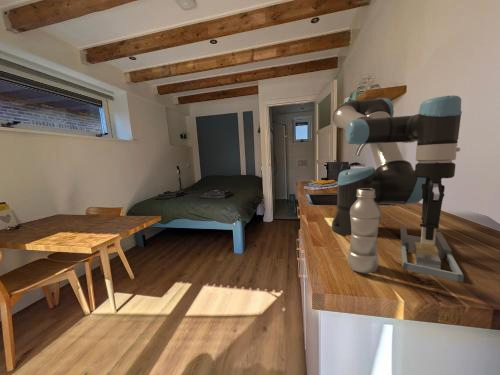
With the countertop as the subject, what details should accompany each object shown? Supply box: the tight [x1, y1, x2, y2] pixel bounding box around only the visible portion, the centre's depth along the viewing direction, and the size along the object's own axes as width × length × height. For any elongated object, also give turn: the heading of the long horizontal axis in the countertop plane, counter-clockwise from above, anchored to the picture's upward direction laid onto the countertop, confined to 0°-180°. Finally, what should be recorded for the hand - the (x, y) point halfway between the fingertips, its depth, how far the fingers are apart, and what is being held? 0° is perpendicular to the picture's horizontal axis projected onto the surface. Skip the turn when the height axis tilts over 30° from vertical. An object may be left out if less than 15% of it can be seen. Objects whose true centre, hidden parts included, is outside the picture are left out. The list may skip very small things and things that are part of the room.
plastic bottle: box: [346, 188, 382, 275], centre depth 48 cm, size 6×7×20 cm
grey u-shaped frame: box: [400, 246, 465, 283], centre depth 49 cm, size 10×11×2 cm
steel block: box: [414, 250, 442, 270], centre depth 49 cm, size 4×4×3 cm
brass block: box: [413, 242, 439, 256], centre depth 52 cm, size 4×4×3 cm
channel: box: [399, 226, 453, 260], centre depth 59 cm, size 10×15×3 cm, turn 145°
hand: (427, 249), depth 54 cm, fingers closed
